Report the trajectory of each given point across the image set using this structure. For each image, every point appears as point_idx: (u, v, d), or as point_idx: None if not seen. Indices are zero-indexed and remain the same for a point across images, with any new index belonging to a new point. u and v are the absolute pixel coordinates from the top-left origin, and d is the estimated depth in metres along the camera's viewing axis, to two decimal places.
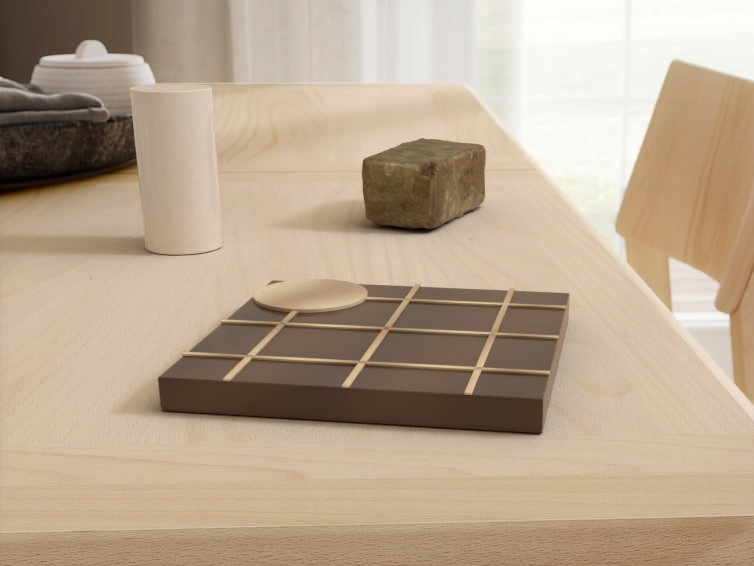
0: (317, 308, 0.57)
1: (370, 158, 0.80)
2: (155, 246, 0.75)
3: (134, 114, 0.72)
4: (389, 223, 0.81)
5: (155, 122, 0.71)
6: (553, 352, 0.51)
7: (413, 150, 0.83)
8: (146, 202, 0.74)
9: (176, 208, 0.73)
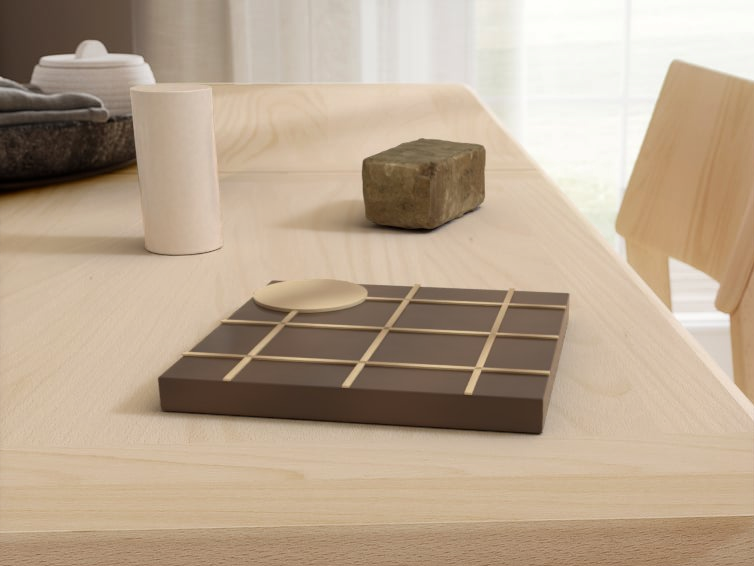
0: (317, 308, 0.57)
1: (370, 158, 0.80)
2: (155, 246, 0.75)
3: (134, 114, 0.72)
4: (389, 223, 0.81)
5: (155, 122, 0.71)
6: (553, 352, 0.51)
7: (413, 150, 0.83)
8: (146, 202, 0.74)
9: (176, 208, 0.73)
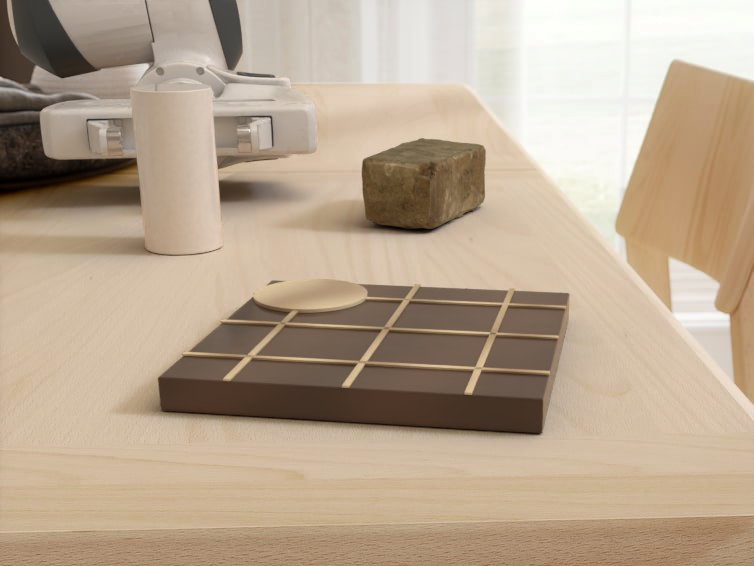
0: (317, 308, 0.57)
1: (370, 158, 0.80)
2: (155, 246, 0.75)
3: (134, 114, 0.72)
4: (389, 223, 0.81)
5: (155, 122, 0.71)
6: (553, 352, 0.51)
7: (413, 150, 0.83)
8: (146, 202, 0.74)
9: (176, 208, 0.73)
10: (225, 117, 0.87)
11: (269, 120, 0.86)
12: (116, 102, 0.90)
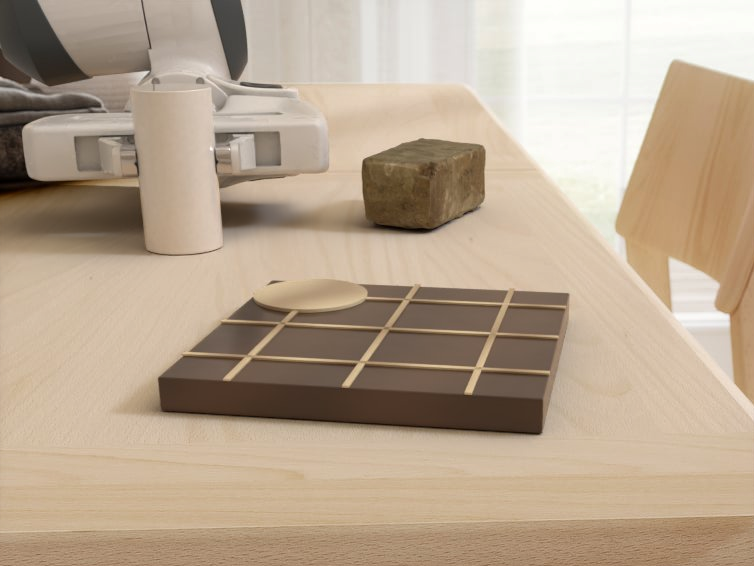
0: (317, 308, 0.57)
1: (370, 158, 0.80)
2: (156, 246, 0.75)
3: (134, 114, 0.72)
4: (389, 223, 0.81)
5: (155, 121, 0.71)
6: (553, 352, 0.51)
7: (413, 150, 0.83)
8: (146, 202, 0.74)
9: (176, 208, 0.73)
10: None
11: (252, 137, 0.77)
12: (107, 116, 0.82)
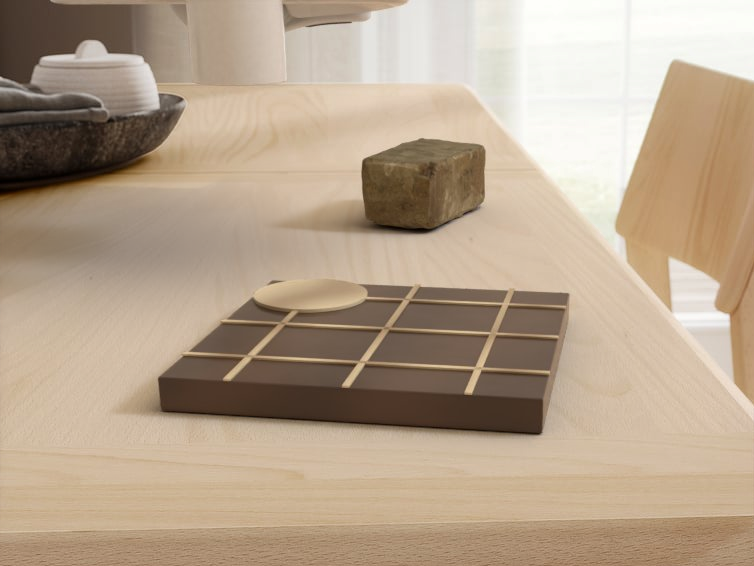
0: (317, 308, 0.57)
1: (369, 158, 0.80)
2: (206, 76, 0.61)
3: None
4: (388, 223, 0.81)
5: None
6: (553, 352, 0.51)
7: (413, 150, 0.83)
8: (195, 20, 0.60)
9: (233, 24, 0.59)
10: None
11: None
12: None
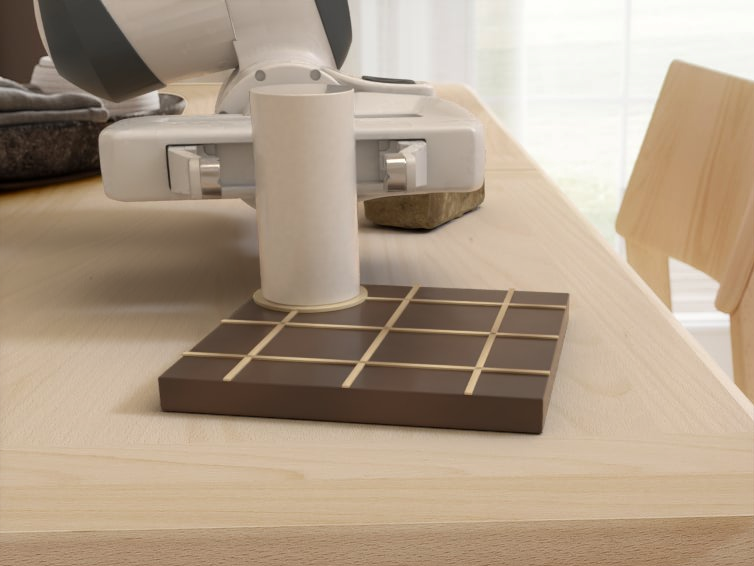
0: (317, 308, 0.57)
1: None
2: (278, 295, 0.58)
3: (255, 124, 0.55)
4: (388, 223, 0.81)
5: (285, 134, 0.54)
6: (553, 352, 0.51)
7: None
8: (267, 239, 0.57)
9: (308, 246, 0.56)
10: (359, 141, 0.62)
11: (425, 145, 0.60)
12: (201, 119, 0.64)
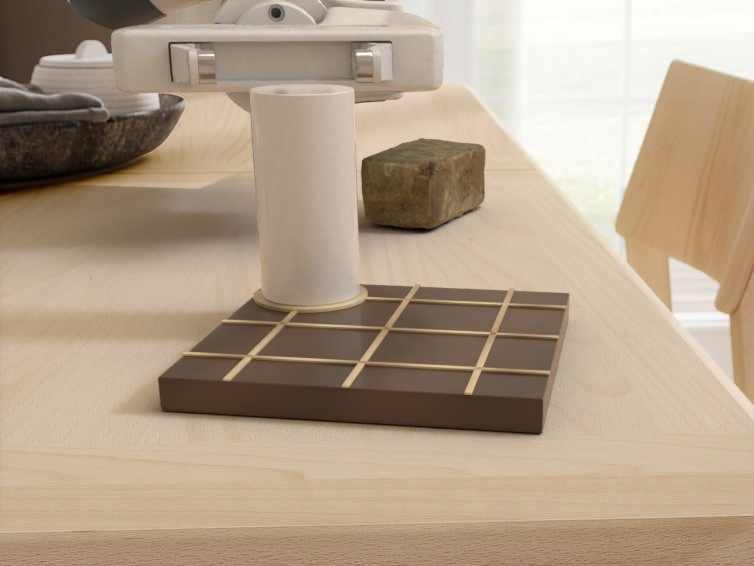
0: (317, 308, 0.57)
1: (369, 158, 0.80)
2: (278, 295, 0.58)
3: (255, 124, 0.55)
4: (388, 223, 0.81)
5: (285, 134, 0.54)
6: (553, 352, 0.51)
7: (412, 150, 0.83)
8: (267, 239, 0.57)
9: (308, 246, 0.56)
10: (334, 43, 0.72)
11: (390, 45, 0.70)
12: (199, 27, 0.74)
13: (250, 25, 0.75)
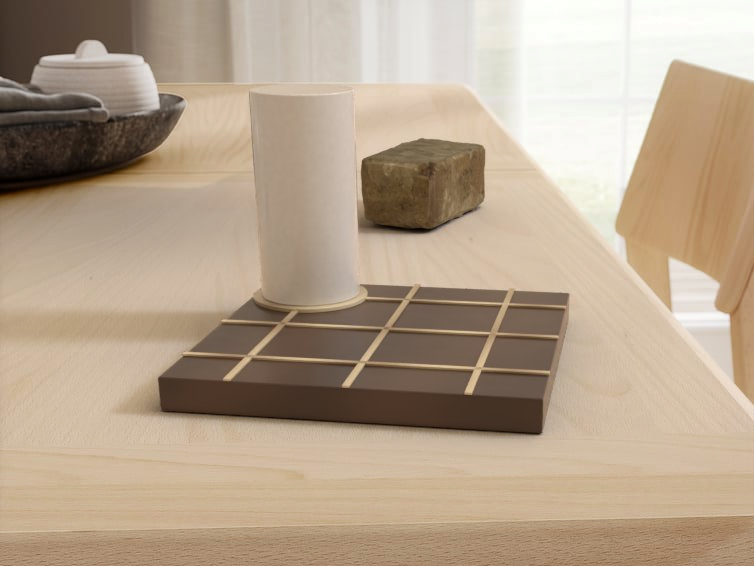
0: (317, 308, 0.57)
1: (369, 158, 0.80)
2: (278, 295, 0.58)
3: (255, 124, 0.55)
4: (388, 223, 0.81)
5: (285, 134, 0.54)
6: (553, 352, 0.51)
7: (412, 150, 0.83)
8: (267, 239, 0.57)
9: (308, 246, 0.56)
10: None
11: None
12: None
13: None
